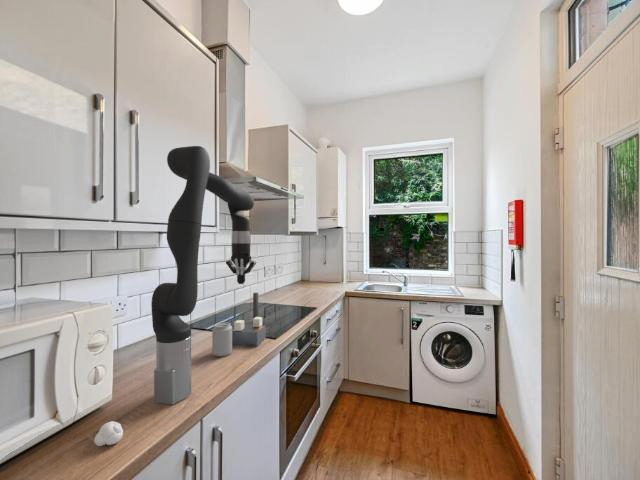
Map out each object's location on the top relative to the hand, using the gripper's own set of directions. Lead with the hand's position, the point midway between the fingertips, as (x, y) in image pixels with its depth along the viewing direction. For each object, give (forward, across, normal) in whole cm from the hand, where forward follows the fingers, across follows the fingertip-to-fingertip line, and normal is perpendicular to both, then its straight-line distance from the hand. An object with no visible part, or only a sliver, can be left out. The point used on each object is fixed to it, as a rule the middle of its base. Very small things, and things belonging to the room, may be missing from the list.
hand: (241, 283), depth 121 cm
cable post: (+27, 0, +15) cm, 31 cm away
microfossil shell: (+27, -6, -57) cm, 63 cm away
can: (+27, -5, -7) cm, 29 cm away
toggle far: (+21, +3, +10) cm, 23 cm away
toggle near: (+21, -3, +4) cm, 21 cm away
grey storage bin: (+27, 0, +7) cm, 28 cm away
